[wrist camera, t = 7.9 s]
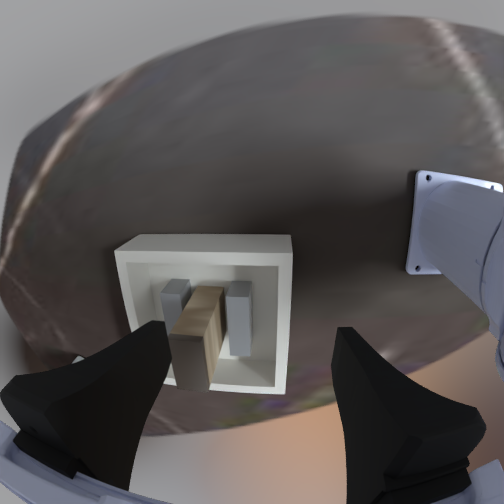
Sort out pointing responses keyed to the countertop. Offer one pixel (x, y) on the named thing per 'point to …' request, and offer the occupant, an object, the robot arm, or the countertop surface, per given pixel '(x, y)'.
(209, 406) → the countertop surface
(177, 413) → the countertop surface
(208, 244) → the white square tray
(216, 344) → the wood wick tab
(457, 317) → the countertop surface
